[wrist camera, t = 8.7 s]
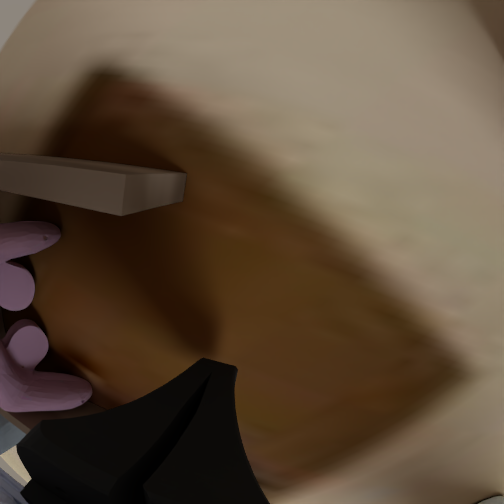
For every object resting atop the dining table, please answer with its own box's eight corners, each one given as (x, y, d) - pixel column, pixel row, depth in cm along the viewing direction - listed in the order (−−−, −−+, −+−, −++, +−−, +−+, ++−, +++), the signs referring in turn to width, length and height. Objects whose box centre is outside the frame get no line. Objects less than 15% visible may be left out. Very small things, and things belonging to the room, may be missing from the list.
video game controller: (40, 211, 14) (-71, 234, 9) (65, 216, 11) (-82, 246, 6) (69, 368, 16) (-21, 402, 11) (102, 404, 14) (-4, 451, 8)
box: (163, 444, 14) (134, 495, 10) (5, 360, 16) (-31, 386, 12) (186, 173, 11) (126, 174, 7) (-12, 152, 12) (-66, 156, 8)
